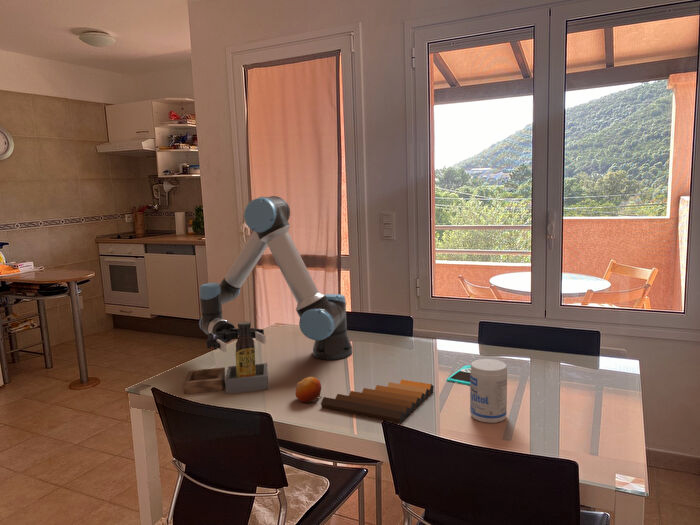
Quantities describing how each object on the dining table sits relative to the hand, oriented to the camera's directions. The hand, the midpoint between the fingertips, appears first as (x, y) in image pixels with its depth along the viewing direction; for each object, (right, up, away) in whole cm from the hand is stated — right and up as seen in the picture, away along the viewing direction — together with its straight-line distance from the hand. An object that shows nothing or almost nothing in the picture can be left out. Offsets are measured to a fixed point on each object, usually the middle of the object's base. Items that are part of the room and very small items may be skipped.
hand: (245, 343), depth 173 cm
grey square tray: (0, -14, +3) cm, 14 cm away
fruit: (+22, -15, -12) cm, 29 cm away
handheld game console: (+74, -11, +1) cm, 75 cm away
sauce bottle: (0, -13, +3) cm, 13 cm away
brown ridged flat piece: (+43, -15, -14) cm, 48 cm away
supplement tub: (+72, -15, -29) cm, 79 cm away
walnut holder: (-14, -14, +4) cm, 20 cm away
